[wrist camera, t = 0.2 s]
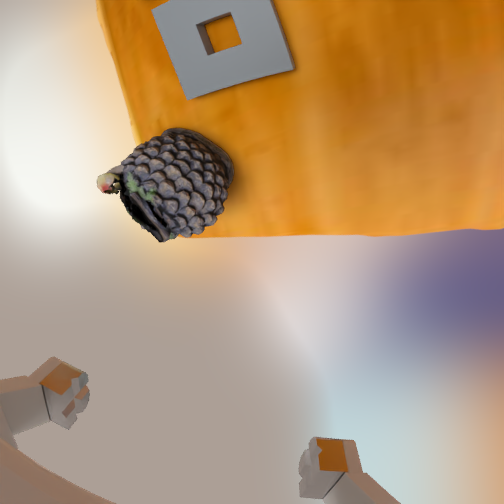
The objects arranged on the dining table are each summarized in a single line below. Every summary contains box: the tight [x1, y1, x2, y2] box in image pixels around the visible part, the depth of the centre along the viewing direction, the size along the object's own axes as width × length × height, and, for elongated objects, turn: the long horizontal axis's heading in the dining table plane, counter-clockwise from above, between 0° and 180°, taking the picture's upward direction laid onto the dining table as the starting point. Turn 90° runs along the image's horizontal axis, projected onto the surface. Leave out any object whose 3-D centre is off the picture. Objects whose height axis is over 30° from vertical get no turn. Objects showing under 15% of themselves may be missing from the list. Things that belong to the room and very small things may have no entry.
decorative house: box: [97, 128, 234, 242], centre depth 54 cm, size 21×15×25 cm
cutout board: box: [151, 0, 295, 100], centre depth 43 cm, size 20×20×4 cm
